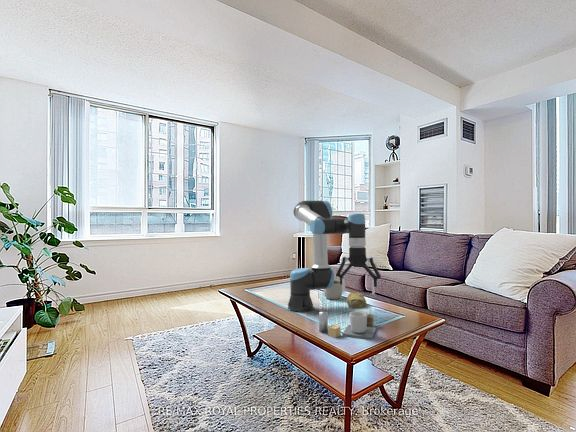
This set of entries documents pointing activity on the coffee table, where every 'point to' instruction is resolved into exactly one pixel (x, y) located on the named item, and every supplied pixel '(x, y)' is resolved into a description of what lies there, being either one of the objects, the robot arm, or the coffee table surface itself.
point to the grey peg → (323, 322)
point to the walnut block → (370, 320)
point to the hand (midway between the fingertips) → (358, 292)
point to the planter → (334, 291)
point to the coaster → (366, 335)
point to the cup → (358, 321)
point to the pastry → (356, 300)
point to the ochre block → (334, 331)
